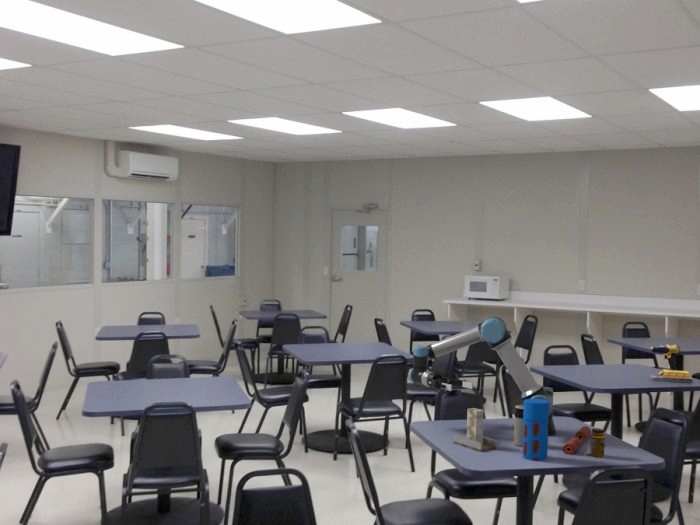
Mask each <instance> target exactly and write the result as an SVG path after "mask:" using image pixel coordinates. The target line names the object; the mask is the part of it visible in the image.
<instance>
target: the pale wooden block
mask: <svg viewBox="0 0 700 525" xmlns="http://www.w3.org/2000/svg"><path fill="white" fill-rule="evenodd" d="M466 412H467V413H466V414H467V415H466V419H467V420H466V438H469V439H472V440H475V441H478V442H482V445H483V436H484V412H485V411H484V410H483V409H481V408H476V407H471V408H467V411H466Z"/></svg>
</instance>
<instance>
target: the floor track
mask: <svg viewBox="0 0 700 525" xmlns="http://www.w3.org/2000/svg"><path fill="white" fill-rule="evenodd" d="M497 443H498V440H497V439H493V438H490V437H487V436H484V435H483V445H482V442H478V441H475V440H472V439H469V438H467V437H466V436H465V437H464V436H463V435H457V434H453V444H455V445H458V446H461V447H464V448H467V449H470V450H473V451H476V452H479V453H481V452H486V451H493V450H497V447H498V446H497Z"/></svg>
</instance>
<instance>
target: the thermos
mask: <svg viewBox="0 0 700 525" xmlns="http://www.w3.org/2000/svg"><path fill="white" fill-rule="evenodd" d="M523 405H524V411H523V447H522V458H523V459H526V460H529V461H535V462H537V461H538V462H543V461H546V460H548V451H549V450H548V449H549V436H548V419H549V403H548V401H546V400H541V399H525V400H524V401H523Z"/></svg>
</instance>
